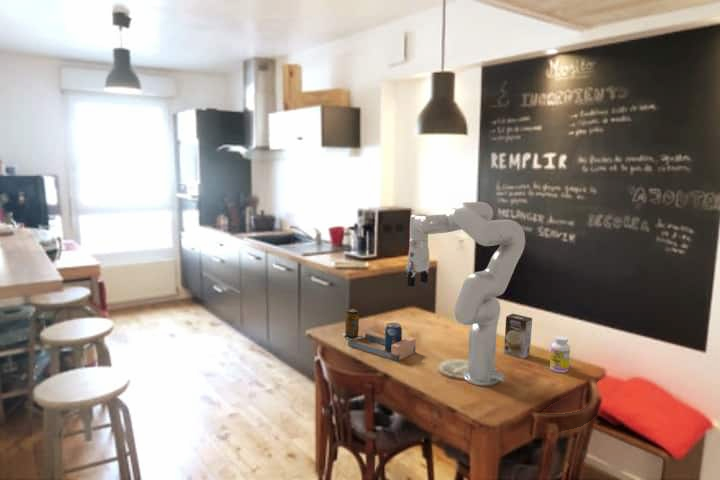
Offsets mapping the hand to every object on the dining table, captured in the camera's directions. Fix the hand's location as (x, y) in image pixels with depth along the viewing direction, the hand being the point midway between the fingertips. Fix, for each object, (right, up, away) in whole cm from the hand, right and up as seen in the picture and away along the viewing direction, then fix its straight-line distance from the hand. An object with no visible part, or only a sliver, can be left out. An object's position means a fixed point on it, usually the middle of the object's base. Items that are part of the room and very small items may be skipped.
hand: (417, 284), depth 209 cm
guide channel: (-15, -28, +3) cm, 32 cm away
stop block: (-6, -29, -4) cm, 30 cm away
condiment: (-28, -26, +19) cm, 43 cm away
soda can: (-10, -29, -1) cm, 31 cm away
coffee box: (+41, -29, -1) cm, 51 cm away
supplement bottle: (+53, -32, -17) cm, 64 cm away
